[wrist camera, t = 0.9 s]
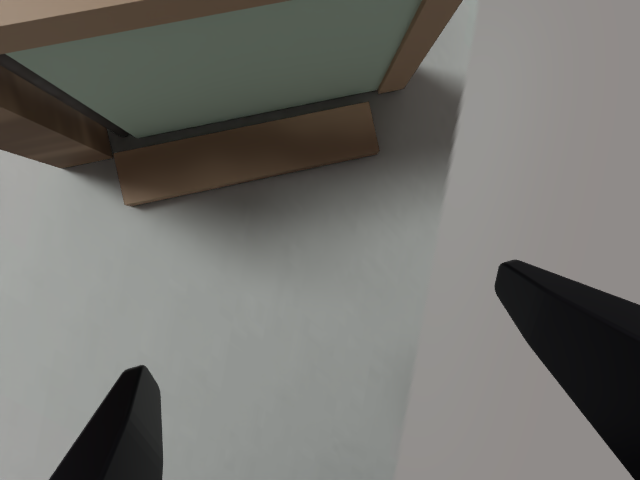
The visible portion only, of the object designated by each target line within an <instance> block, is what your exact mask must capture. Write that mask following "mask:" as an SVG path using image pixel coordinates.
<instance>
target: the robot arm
mask: <svg viewBox="0 0 640 480" xmlns="http://www.w3.org/2000/svg"><path fill="white" fill-rule="evenodd" d="M495 292H496V294H497V296H498V297H499V299H500V301H501V303H502V304H503V306H504V307H505V309H506V310H507V312H508V313H509V315H510V316H511V318H512V320H513V321H514V323H515V325H516V326H517V327H518V329H519V331H520V332H521V334H522V336H523V337H524V338H525V340H526V341H527V343H528V344H529V345H530V347H531V348H532V350H533V351H534V352H535V353H536V355H537V356H538V357H539V359H540V360H541V361H542V362H543V364H544V365H545V366H546V367H547V369H548V370H549V371H550V373H551V374H552V375H553V376H554V378H555V379H556V380H557V381H558V382H559V384H560V385H561V387H562V388H563V389H564V390H565V392H566V393H567V394H568V395H569V397H570V398H571V399H572V401H573V402H574V403H575V404H576V406H577V407H578V408H579V409H580V411H581V412H582V413H583V415H584V416H585V417H586V418H587V420H588V421H589V422H590V423H591V425H592V426H593V427H594V429H595V430H596V431H597V432H598V434H599V435H600V436H601V437H602V439H603V440H604V441H605V443H606V444H607V445H608V446H609V448H610V449H611V450H612V451H613V453H614V454H615V455H616V457H617V458H618V459H619V460H620V462H621V463H622V464H623V465H624V467H625V468H626V469H627V471H628V472H629V473H630V474H631V476H632V477H633V478H634V479H635V480H640V305H638V304H636V303H633V302H630V301H628V300H625V299H622V298H620V297H617V296H614V295H611V294H609V293H606V292H603V291H601V290H598V289H595V288H592V287H589V286H587V285H584V284H582V283H579V282H576V281H573V280H570V279H568V278H565V277H562V276H560V275H557V274H555V273H552V272H549V271H546V270H543V269H541V268H538V267H536V266H533V265H530V264H527V263H525V262H522V261H519V260H511V261H508V262H504V263H502V264H500V266H499V269H498V273H497V277H496V281H495ZM162 474H163V443H162V419H161V396H160V390H159V386H158V384H157V383H156V381H155V380H154V378H153V376H152V375H151V373H150V372H149V370H148V368H147V367H146V366H144V365H140V366H136V367H133V368H129V369H126V370H125V371H124V372H123V373H122V374H121V375H120V377H119V378H118V380H117V381H116V383H115V384H114V386H113V387H112V389H111V390H110V392H109V393H108V394H107V396H106V397H105V399H104V400H103V402H102V403H101V405H100V406H99V408H98V409H97V410H96V412H95V413H94V415H93V416H92V418H91V419H90V421H89V422H88V424H87V425H86V426H85V428H84V429H83V431H82V432H81V434H80V435H79V437H78V438H77V440H76V441H75V443H74V444H73V445H72V447H71V448H70V450H69V451H68V453H67V454H66V456H65V457H64V459H63V460H62V461H61V463H60V464H59V466H58V467H57V469H56V470H55V472H54V473H53V475H52V476H51V477H50V479H49V480H162Z"/></svg>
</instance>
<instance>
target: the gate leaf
mask: <svg viewBox="0 0 640 480" xmlns="http://www.w3.org/2000/svg"><path fill="white" fill-rule="evenodd" d="M462 1H463V0H0V54H6V55H8V56H9V57H11V58H13V59H14V60H16V61H17V62H19V63H20V64H22V65H23V66H25V67H27V68H28V69H30V70H31V71H33V72H34V73H36V74H38V75H39V76H41V77H42V78H44V79H45V80H47V81H48V82H50V83H52V84H53V85H55V86H56V87H58V88H59V89H61V90H62V91H64V92H66V93H67V94H69V95H70V96H72V97H73V98H75V99H77V100H78V101H80V102H81V103H83V104H84V105H86V106H87V107H89V108H91V109H92V110H94V111H95V112H97V113H98V114H100V115H101V116H103V117H105V118H106V119H108V120H109V121H111V122H112V123H114V124H115V125H117V126H119V127H120V128H122V129H123V130H125V131H126V132H128V133H130V134H131V135H133V136H134V137H136V138H141V137H146V136H151V135H156V134H161V133H166V132H171V131H176V130H181V129H186V128H191V127H196V126H201V125H206V124H211V123H216V122H221V121H226V120H230V119H235V118H240V117H245V116H250V115H255V114H260V113H265V112H270V111H275V110H280V109H285V108H290V107H295V106H300V105H305V104H310V103H315V102H320V101H325V100H330V99H335V98H340V97H345V96H350V95H354V94H359V93H364V92H369V91H374V90H377V91H378V94H380V93H385V92H390V91H395V90H400V89H404V88H405V86H406V85H407V83H408V82H409V80H410V79H411V77H412V76H413V74H414V73H415V71H416V70H417V68H418V67H419V65H420V64H421V62H422V61H423V59H424V58H425V56H426V55H427V53H428V52H429V50H430V49H431V47H432V46H433V44H434V43H435V41H436V40H437V38H438V37H439V35H440V34H441V32H442V31H443V29H444V28H445V26H446V25H447V23H448V22H449V20H450V19H451V17H452V16H453V14H454V13H455V11H456V10H457V8H458V7H459V5H460V4H461V2H462Z"/></svg>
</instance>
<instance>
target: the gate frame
mask: <svg viewBox="0 0 640 480" xmlns="http://www.w3.org/2000/svg"><path fill="white" fill-rule="evenodd" d="M107 129H109V130H110V131H112V132H114V133H115V134H117V135H119V136H121V137H125V136H127V135H128V134H129V133H128V132H126V131H125V130H123V129H122V128H120V127H119V126H117V125H115V124H114V123H112V122H111V121H109V120H108V119H106V118H105V117H103V116H101V115H100V114H98V113H97V112H95V111H94V110H92V109H91V108H89V107H87V106H86V105H84V104H83V103H81V102H80V101H78V100H77V99H75V98H73V97H72V96H70V95H69V94H67V93H66V92H64V91H62V90H61V89H59V88H58V87H56V86H55V85H53V84H52V83H50V82H48V81H47V80H45V79H44V78H42V77H41V76H39V75H38V74H36V73H34V72H33V71H31V70H30V69H28V68H27V67H25V66H23V65H22V64H20V63H19V62H17V61H16V60H14V59H13V58H11V57H9V56H8V55H6V54H0V149H1V150H4V151H7V152H10V153H14V154H17V155H20V156H23V157H26V158H30V159H33V160H36V161H39V162H42V163H46V164H49V165H52V166H55V167H58V168H67V167H72V166H77V165H82V164H86V163H91V162H96V161H101V160H106V159H111V158H113V155H114V160H115V164H116V168H117V173H118V177H119V182H120V186H121V191H122V195H123V200H124V204H125V205H127V206H135V205H140V204H145V203H149V202H154V201H159V200H163V199H168V198H173V197H178V196H182V195H187V194H192V193H197V192H201V191H206V190H211V189H216V188H220V187H225V186H230V185H234V184H239V183H244V182H249V181H253V180H258V179H263V178H268V177H272V176H277V175H282V174H287V173H291V172H296V171H301V170H306V169H310V168H315V167H320V166H324V165H329V164H334V163H339V162H343V161H348V160H353V159H358V158H362V157H367V156H372V155H377V154H378V153H379V151H380V150H379V146H378V141H377V137H376V132H375V128H374V123H373V119H372V114H371V110H370V105H369V101H368V102H364V103H359V104H354V105H349V106H344V107H339V108H334V109H329V110H324V111H319V112H314V113H309V114H304V115H300V116H295V117H290V118H285V119H280V120H275V121H270V122H265V123H260V124H255V125H250V126H245V127H240V128H235V129H231V130H226V131H221V132H216V133H211V134H206V135H201V136H196V137H191V138H186V139H181V140H176V141H171V142H167V143H162V144H157V145H152V146H147V147H142V148H137V149H132V150H127V151H122V152H117V153H113V155H112V150H111V146H110V141H109V137H108V132H107Z"/></svg>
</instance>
